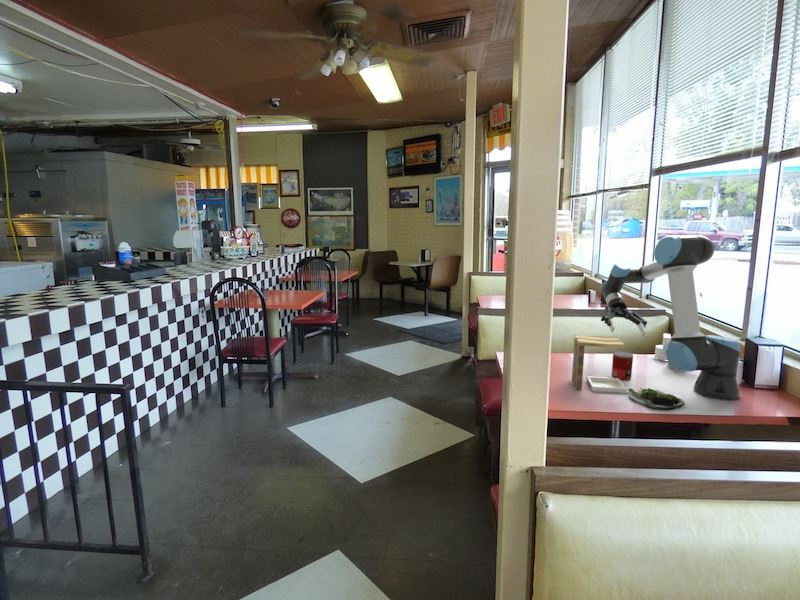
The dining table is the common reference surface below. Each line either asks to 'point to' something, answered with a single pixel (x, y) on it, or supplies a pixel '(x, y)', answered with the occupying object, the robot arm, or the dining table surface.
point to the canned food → (622, 365)
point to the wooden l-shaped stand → (579, 353)
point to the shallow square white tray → (606, 384)
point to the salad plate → (656, 399)
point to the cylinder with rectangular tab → (662, 348)
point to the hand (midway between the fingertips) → (628, 332)
